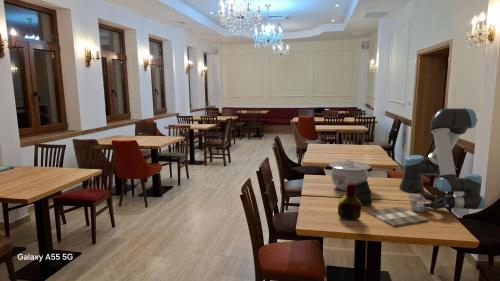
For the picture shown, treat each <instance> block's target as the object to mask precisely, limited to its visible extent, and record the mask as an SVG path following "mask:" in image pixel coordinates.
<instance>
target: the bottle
mask: <svg viewBox="0 0 500 281" xmlns="http://www.w3.org/2000/svg"><path fill="white" fill-rule="evenodd" d="M362 206H363V205H361V203H360V201H359V200H358V199H357V198H356V195H355V183H348V185H347V190H346V191H345V195H344V196H342V197H341V198H340V199H339V200H338V203H337V215H338V217H339V218H340V219H342V220H348V221H356V220H357V221H358V220H359V219H360V218H361V214H362Z"/></svg>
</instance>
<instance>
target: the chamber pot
mask: <svg viewBox="0 0 500 281" xmlns="http://www.w3.org/2000/svg"><path fill="white" fill-rule="evenodd" d="M329 167H331V168H332V169H331V170H330V177H331V181H332V182H333V184H334V186H335V188H337V189H338V190H340V191H344V192H346V190H347V185H348V183H355V184H356V183H359V182H362V181H365V180H366V181H367V182H368V177H369V172H368V170H369V169H371V168H372V167H371V165H370V164H368V163H366V162H361V161H357V160H351V159H347V160H335V161H332V162H330V163H329Z"/></svg>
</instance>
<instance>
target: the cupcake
mask: <svg viewBox="0 0 500 281" xmlns="http://www.w3.org/2000/svg"><path fill="white" fill-rule="evenodd" d="M417 194H418V195H416V196H413V198H412V199H409V204H410V207H411V211H413V212H415V213H424V212H425V210H426V208H427V207H417V202H427V200H425V198H424V197H422V196H421V195H420V193H417Z"/></svg>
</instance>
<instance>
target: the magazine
mask: <svg viewBox="0 0 500 281" xmlns="http://www.w3.org/2000/svg"><path fill="white" fill-rule="evenodd" d="M355 195H356V198H357V199H358V200H359V201H360V203H361V206H364V207H372V202H373V198H372V190H371V189H370V185H369V181H368V180H367V181H366V180H365V181H362V182H359V183H356V184H355Z"/></svg>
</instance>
